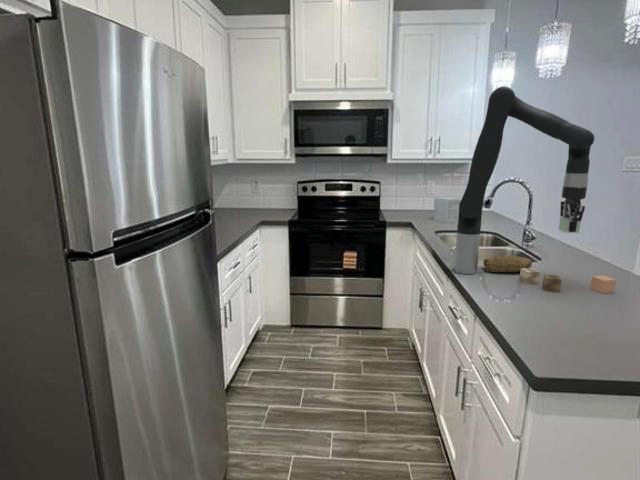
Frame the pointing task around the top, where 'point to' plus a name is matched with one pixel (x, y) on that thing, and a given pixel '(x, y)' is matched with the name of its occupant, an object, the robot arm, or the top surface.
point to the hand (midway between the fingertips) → (568, 230)
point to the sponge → (506, 264)
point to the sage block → (567, 225)
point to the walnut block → (551, 283)
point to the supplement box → (446, 209)
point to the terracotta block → (602, 284)
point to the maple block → (529, 276)
